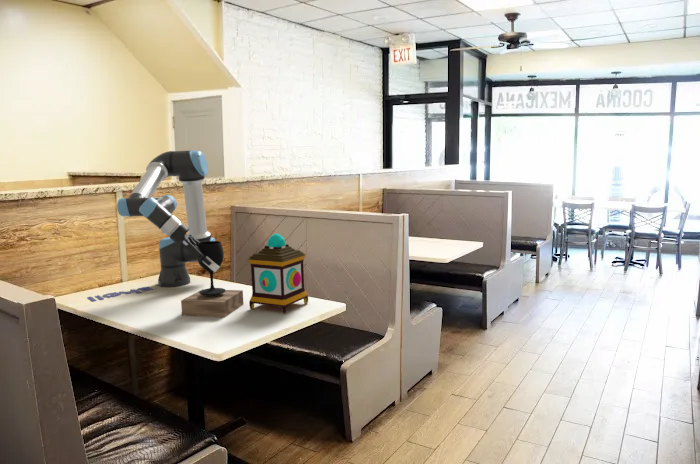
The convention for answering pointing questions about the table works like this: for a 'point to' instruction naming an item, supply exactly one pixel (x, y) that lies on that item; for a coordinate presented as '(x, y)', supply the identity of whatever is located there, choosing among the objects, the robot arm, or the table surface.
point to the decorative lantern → (277, 275)
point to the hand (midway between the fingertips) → (218, 266)
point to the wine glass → (216, 255)
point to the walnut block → (212, 304)
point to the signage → (119, 293)
